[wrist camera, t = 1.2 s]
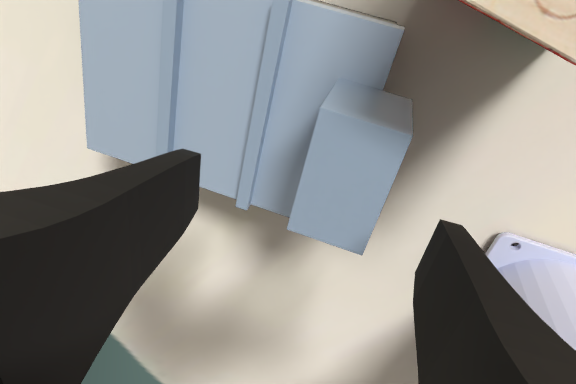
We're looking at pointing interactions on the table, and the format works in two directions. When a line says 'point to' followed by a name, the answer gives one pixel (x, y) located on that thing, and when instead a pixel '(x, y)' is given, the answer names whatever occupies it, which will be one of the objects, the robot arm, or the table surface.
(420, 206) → the table surface
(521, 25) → the stack of blocks
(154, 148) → the lid
